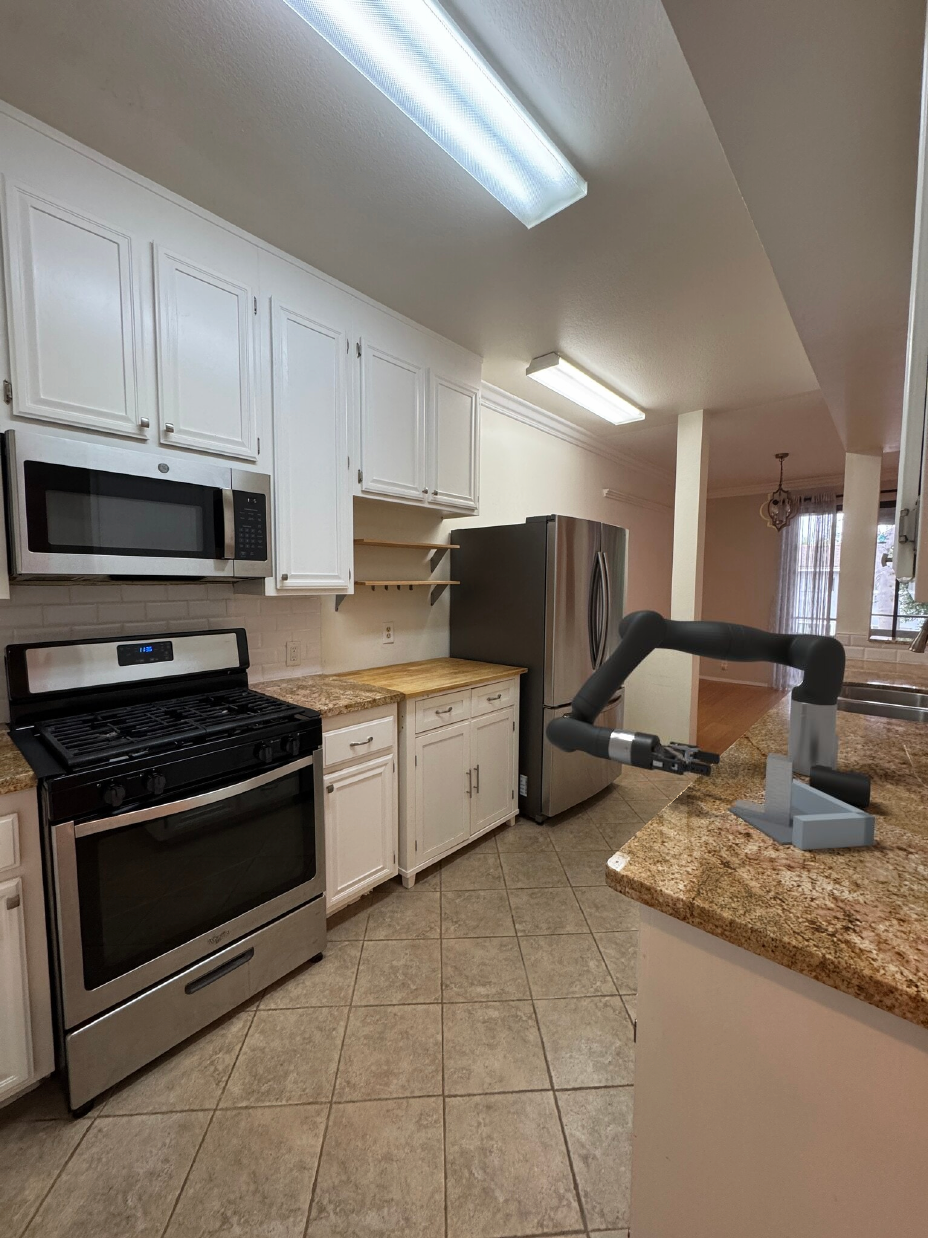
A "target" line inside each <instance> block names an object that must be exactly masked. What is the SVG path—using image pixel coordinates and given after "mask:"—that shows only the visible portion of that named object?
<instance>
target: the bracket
mask: <svg viewBox="0 0 928 1238" xmlns="http://www.w3.org/2000/svg"><path fill="white" fill-rule="evenodd" d="M765 769H766V771H765V788H764V789H765V791H764V804H761V803H756V802H753V801H748V800H743V799H740V798H738V799H737V800H736V802H735V803H734V807H733V808H734V813H736V814H740V815H744V816H748V817H752V818H756V819H760V820H764V821H768V822H772V823H776V824H780V825H784V826H788V827H789V824H790V820H791V807H792V789H793V779H794V773H795V772H794V757H792V756H788V755H785V754H779V753H774V752H769V753H768V754H767V757H766V768H765Z"/></svg>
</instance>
